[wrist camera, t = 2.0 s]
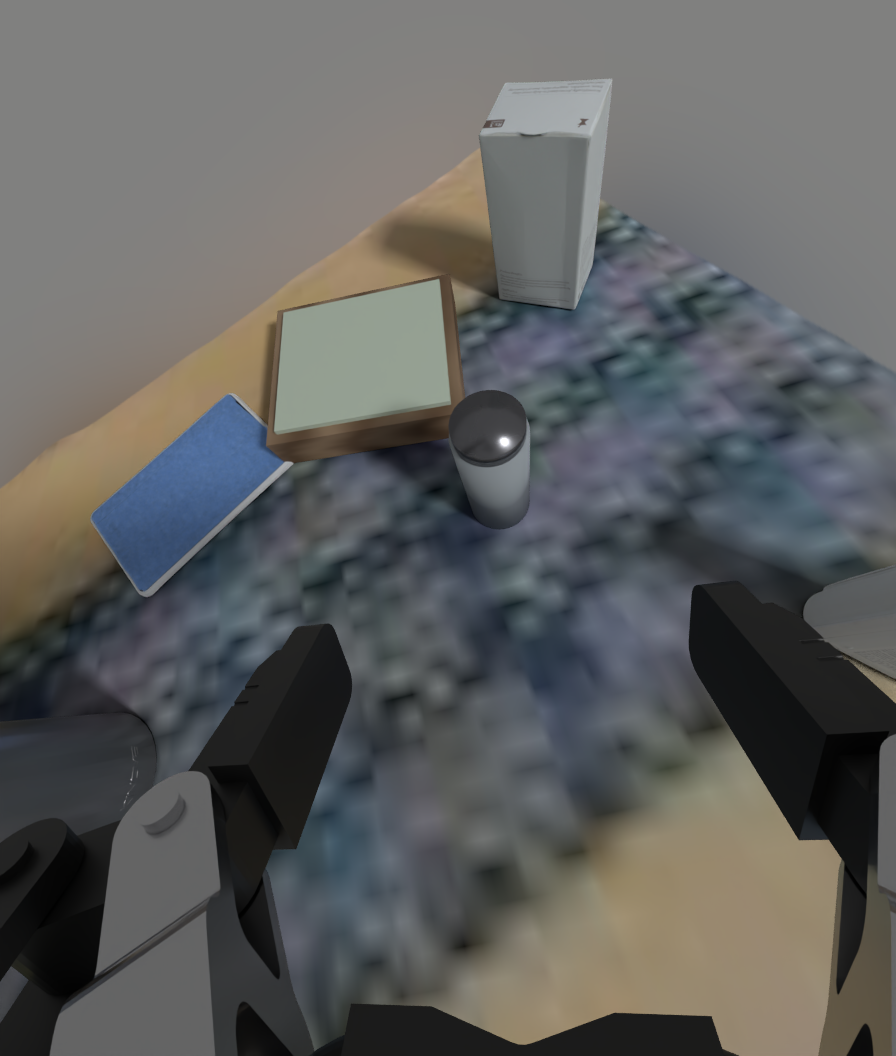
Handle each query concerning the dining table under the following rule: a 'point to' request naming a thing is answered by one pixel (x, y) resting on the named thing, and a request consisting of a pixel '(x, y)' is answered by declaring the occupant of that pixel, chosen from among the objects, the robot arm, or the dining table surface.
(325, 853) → the dining table surface
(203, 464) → the blue notebook
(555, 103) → the skincare box
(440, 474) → the dining table surface
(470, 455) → the ceramic jar
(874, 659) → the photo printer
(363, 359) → the plinth
